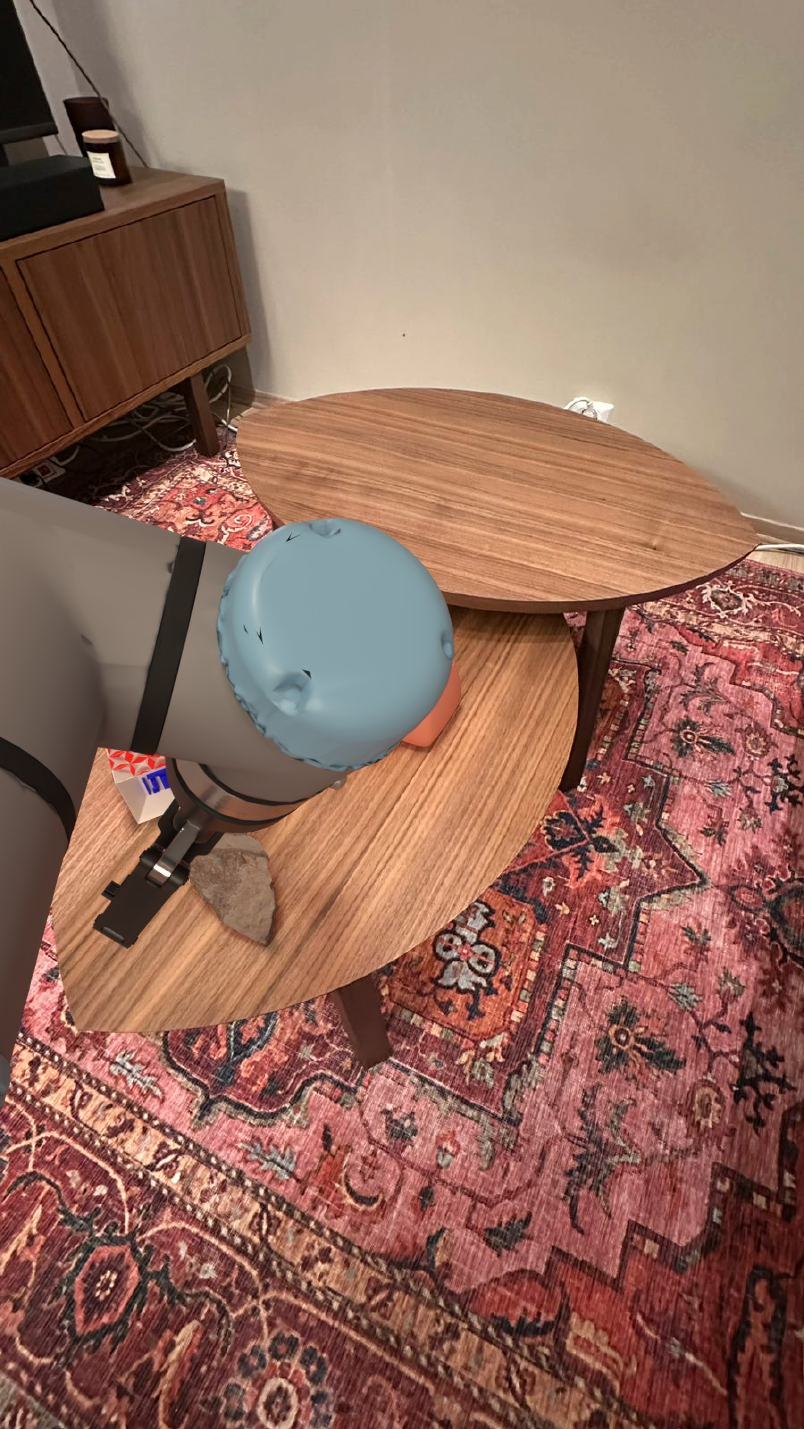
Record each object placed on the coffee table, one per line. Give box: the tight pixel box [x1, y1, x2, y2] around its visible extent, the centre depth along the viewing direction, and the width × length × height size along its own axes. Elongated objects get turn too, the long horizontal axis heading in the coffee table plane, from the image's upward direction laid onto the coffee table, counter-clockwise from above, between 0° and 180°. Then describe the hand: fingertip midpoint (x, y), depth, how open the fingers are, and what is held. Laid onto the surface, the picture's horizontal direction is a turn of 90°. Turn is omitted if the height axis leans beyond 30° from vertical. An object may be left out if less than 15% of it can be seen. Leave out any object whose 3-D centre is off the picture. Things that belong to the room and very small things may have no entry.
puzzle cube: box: [105, 748, 180, 825], centre depth 78 cm, size 8×8×8 cm
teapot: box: [400, 659, 462, 748], centre depth 83 cm, size 12×18×10 cm, turn 150°
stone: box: [189, 833, 280, 946], centre depth 71 cm, size 15×9×10 cm
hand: (193, 817), depth 52 cm, fingers open, 13 cm apart
